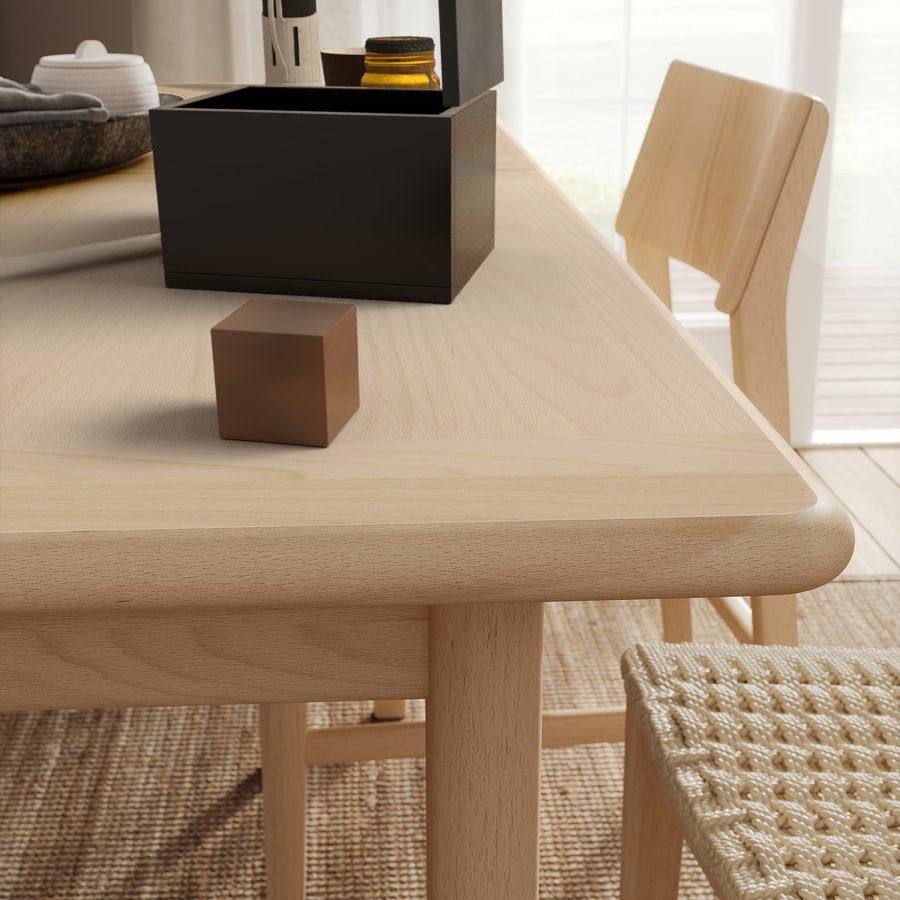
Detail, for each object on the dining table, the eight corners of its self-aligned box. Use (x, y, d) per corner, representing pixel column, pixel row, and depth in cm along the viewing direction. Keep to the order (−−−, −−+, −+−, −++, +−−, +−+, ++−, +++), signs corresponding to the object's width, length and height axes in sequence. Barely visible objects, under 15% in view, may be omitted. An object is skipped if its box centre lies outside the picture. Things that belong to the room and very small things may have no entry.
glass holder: (330, 87, 171) (326, -24, 165) (306, 97, 158) (301, -22, 152) (272, 86, 172) (266, -24, 166) (244, 96, 159) (236, -22, 153)
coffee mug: (351, 157, 111) (348, 46, 107) (435, 163, 108) (434, 48, 104) (290, 177, 101) (284, 55, 97) (380, 183, 98) (377, 58, 94)
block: (218, 438, 46) (209, 328, 44) (259, 399, 50) (252, 297, 48) (328, 447, 45) (323, 336, 44) (360, 407, 49) (357, 303, 48)
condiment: (352, 207, 89) (347, 40, 84) (366, 186, 97) (362, 33, 92) (448, 208, 89) (448, 40, 84) (454, 187, 96) (454, 33, 92)
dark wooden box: (165, 287, 67) (147, 109, 63) (251, 236, 80) (241, 84, 76) (451, 304, 64) (451, 117, 60) (494, 247, 76) (497, 89, 73)
